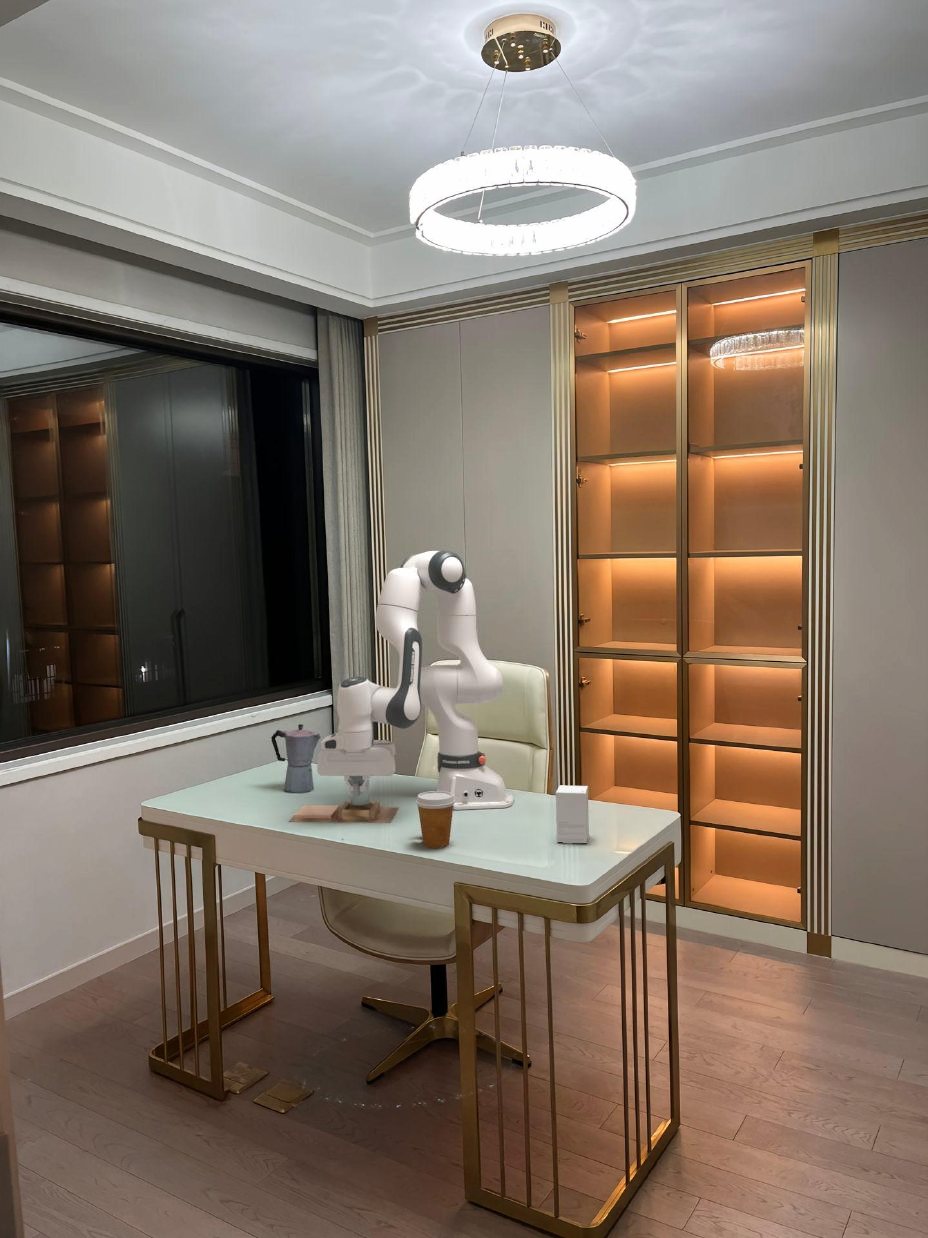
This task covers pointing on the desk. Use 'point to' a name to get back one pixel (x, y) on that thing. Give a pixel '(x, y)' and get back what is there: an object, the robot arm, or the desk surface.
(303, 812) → the terracotta coaster
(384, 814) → the walnut board
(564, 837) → the supplement box
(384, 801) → the desk surface
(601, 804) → the desk surface
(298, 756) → the moka pot
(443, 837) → the disposable coffee cup
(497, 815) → the desk surface
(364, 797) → the pale blue rounded piece
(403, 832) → the desk surface
